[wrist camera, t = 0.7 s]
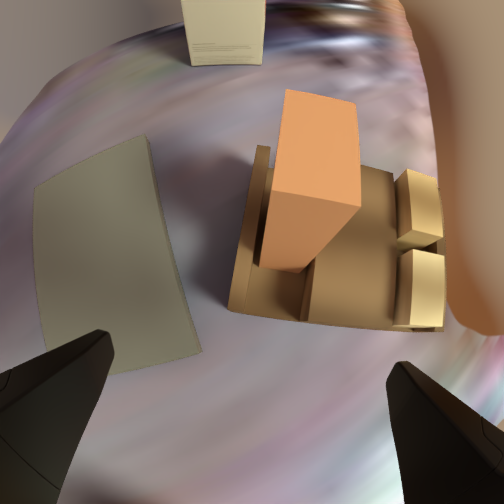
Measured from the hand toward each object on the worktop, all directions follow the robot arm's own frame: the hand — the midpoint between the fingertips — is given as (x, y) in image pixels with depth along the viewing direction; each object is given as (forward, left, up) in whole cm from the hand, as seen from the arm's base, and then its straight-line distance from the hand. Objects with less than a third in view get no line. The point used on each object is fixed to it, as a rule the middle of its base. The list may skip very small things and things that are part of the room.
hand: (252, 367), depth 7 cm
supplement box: (+35, 0, -13) cm, 37 cm away
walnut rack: (+6, -7, -13) cm, 16 cm away
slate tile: (+7, +13, -13) cm, 20 cm away
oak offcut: (+8, -14, -12) cm, 20 cm away
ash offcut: (+2, -12, -12) cm, 17 cm away
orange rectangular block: (+7, -3, -12) cm, 14 cm away
